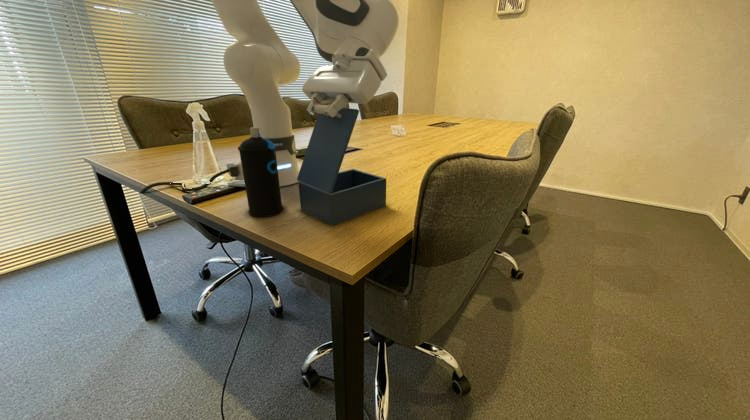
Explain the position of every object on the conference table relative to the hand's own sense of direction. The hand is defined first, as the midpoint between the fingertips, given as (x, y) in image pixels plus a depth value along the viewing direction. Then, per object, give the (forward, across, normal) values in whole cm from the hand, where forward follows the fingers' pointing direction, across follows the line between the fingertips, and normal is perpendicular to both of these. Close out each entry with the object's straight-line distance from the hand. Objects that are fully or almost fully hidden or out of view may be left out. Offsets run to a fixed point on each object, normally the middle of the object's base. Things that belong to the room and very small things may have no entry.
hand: (319, 113), depth 64 cm
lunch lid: (+4, 0, +6) cm, 8 cm away
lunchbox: (+12, 0, +20) cm, 24 cm away
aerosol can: (+23, -12, +10) cm, 28 cm away
